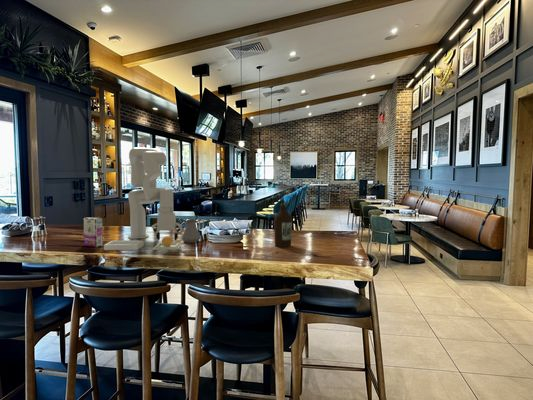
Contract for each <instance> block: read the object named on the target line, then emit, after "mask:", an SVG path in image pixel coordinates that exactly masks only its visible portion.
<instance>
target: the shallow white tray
mask: <svg viewBox="0 0 533 400" xmlns="http://www.w3.org/2000/svg"><path fill="white" fill-rule="evenodd" d="M144 245H145V241H144V240H138V239H134V240H133V239H131V240H111V241H109V242H107V243H105V244H103V249H104V251H138V250H139V249H141V248H143V247H144Z"/></svg>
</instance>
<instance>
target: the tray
mask: <svg viewBox="0 0 533 400" xmlns="http://www.w3.org/2000/svg"><path fill="white" fill-rule="evenodd" d="M181 246H182V244H181V243H180V242H172V245H171V246H169V247H165V246H164V245H163V244H162V242H159V243H157V244H156V245H155V246H153V248H152V249H151V250H152V251H161V250H162V251H164V250H165V251H166V250H168V251H169V250H171V251H172V250H173V251H174V250H176V251H177V250H179V248H180V247H181Z"/></svg>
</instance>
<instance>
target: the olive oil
mask: <svg viewBox="0 0 533 400" xmlns="http://www.w3.org/2000/svg"><path fill="white" fill-rule="evenodd" d="M279 209H280V210H279V211H278V212H277V213H276V214H275V216H274V219H273V227H274V247H276V248H281V249H282V248H290V247H291V246H292V239H293V238H292V229H293V217H292V215H291V214H290V213H289V212H288V210H287V203H280V207H279Z"/></svg>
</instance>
